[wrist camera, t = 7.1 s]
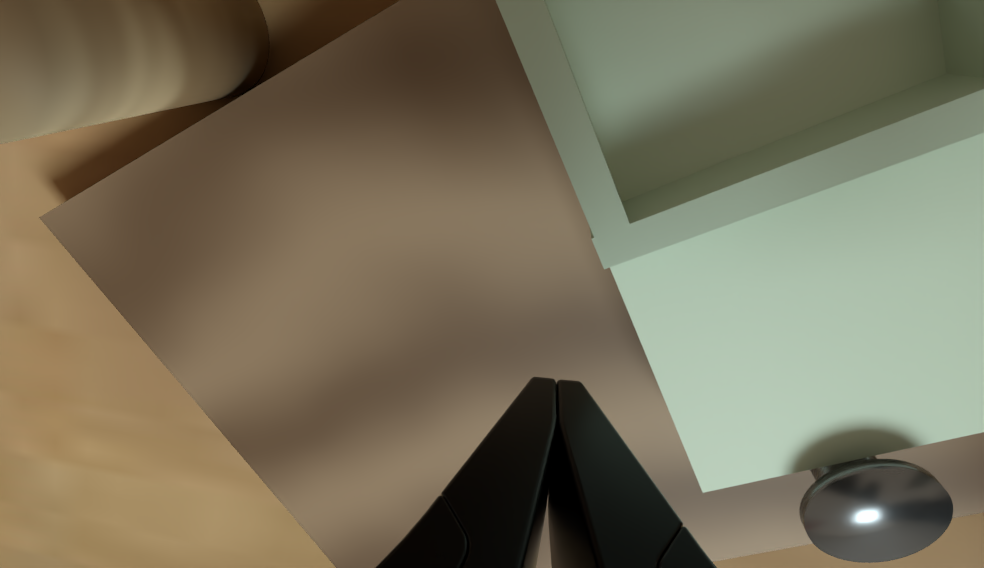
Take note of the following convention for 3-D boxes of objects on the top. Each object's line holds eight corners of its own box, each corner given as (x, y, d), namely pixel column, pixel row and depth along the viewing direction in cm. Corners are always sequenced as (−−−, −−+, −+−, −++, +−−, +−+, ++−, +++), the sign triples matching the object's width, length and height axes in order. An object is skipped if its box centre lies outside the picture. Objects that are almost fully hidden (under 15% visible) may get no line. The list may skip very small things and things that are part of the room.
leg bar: (948, 354, 12) (1081, 468, 9) (682, 423, 14) (716, 537, 11) (846, -327, 8) (1042, -572, 5) (472, -94, 10) (427, -155, 6)
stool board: (1017, 472, 15) (1046, 500, 14) (389, 597, 22) (382, 621, 21) (929, -306, 9) (972, -345, 8) (69, 206, 15) (39, 217, 14)
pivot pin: (877, 439, 14) (960, 548, 11) (769, 464, 15) (819, 572, 12) (858, 359, 13) (944, 455, 10) (743, 390, 14) (791, 488, 11)
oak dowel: (292, 62, 13) (92, 88, 7) (203, 117, 13) (-35, 176, 8) (216, -69, 11) (-87, -154, 6) (124, -1, 12) (-211, -24, 7)
